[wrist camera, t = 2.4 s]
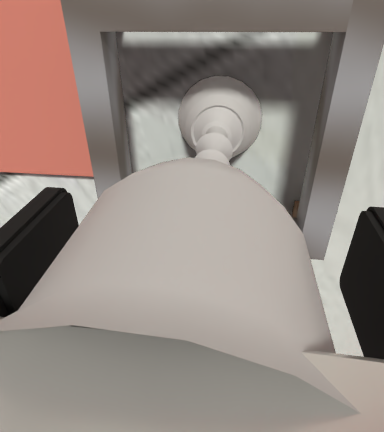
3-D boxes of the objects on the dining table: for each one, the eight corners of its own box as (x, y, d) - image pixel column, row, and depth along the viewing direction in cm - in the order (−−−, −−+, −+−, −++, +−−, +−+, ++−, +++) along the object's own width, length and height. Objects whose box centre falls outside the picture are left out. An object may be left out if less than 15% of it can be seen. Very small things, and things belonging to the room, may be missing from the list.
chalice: (305, 99, 19) (562, 492, 4) (241, 189, 22) (243, 573, 7) (191, 31, 18) (-92, 205, 3) (143, 138, 21) (-90, 467, 6)
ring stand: (98, -9, 17) (58, -11, 13) (361, -12, 16) (400, -16, 12) (127, 205, 24) (106, 243, 20) (309, 216, 23) (323, 259, 19)
